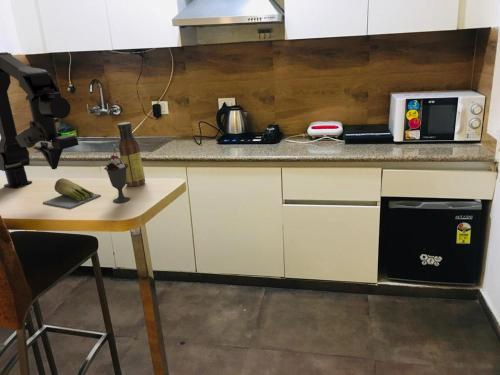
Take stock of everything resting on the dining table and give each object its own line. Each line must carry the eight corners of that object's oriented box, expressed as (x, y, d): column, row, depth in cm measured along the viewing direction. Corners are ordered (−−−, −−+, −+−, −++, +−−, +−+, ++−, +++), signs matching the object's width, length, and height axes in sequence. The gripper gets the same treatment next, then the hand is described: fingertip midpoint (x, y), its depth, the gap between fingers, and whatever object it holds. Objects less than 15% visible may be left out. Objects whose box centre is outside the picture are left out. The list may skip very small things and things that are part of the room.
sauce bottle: (147, 180, 140) (138, 120, 134) (143, 186, 134) (134, 124, 128) (127, 182, 140) (117, 121, 134) (122, 188, 134) (112, 125, 128)
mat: (42, 203, 125) (42, 202, 125) (73, 191, 134) (73, 190, 134) (70, 208, 119) (70, 207, 119) (100, 196, 128) (100, 194, 128)
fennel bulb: (71, 179, 133) (96, 191, 127) (65, 193, 133) (90, 207, 127) (55, 175, 128) (80, 188, 122) (49, 190, 128) (74, 204, 122)
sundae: (126, 194, 128) (118, 145, 123) (137, 199, 123) (130, 148, 118) (105, 201, 124) (96, 150, 119) (116, 206, 119) (107, 153, 114)
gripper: (-4, 120, 119) (9, 173, 124) (39, 122, 110) (51, 180, 115) (32, 113, 128) (43, 163, 133) (74, 115, 119) (84, 169, 124)
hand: (54, 169), depth 126 cm, fingers closed
